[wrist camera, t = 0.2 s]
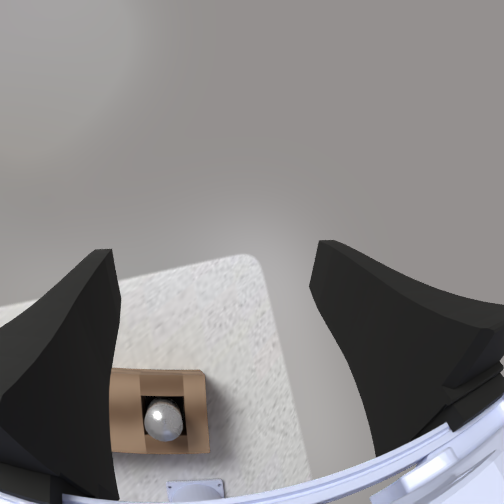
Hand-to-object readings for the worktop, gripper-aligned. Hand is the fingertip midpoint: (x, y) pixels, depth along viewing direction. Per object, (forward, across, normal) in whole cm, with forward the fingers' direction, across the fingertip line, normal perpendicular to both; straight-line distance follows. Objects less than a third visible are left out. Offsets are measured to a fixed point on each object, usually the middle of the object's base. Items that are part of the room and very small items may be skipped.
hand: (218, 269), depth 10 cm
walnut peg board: (+13, +11, +29) cm, 34 cm away
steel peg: (+10, +5, +27) cm, 29 cm away
